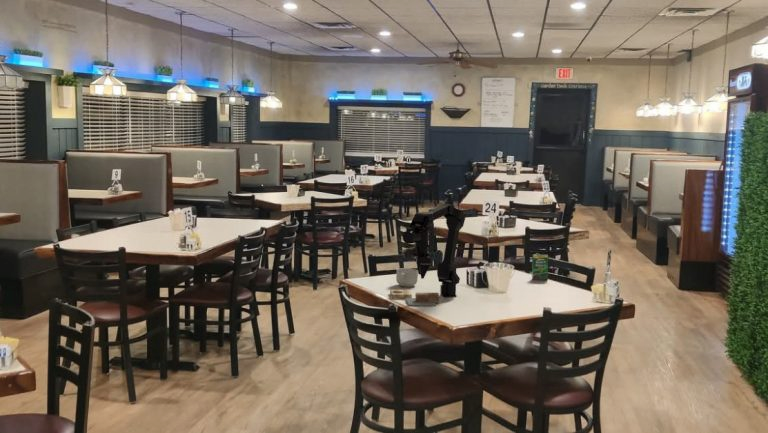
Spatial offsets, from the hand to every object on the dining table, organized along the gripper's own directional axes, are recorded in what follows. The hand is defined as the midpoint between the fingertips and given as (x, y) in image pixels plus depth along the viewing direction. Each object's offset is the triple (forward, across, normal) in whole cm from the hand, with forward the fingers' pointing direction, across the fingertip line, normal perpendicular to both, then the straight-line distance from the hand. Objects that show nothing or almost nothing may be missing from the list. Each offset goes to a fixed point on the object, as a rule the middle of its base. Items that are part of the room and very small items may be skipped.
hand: (421, 276), depth 330 cm
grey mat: (+12, 0, 0) cm, 12 cm away
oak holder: (+12, -13, -8) cm, 19 cm away
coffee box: (+12, -52, +69) cm, 87 cm away
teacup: (+12, -35, -3) cm, 37 cm away
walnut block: (+9, 0, +3) cm, 10 cm away
